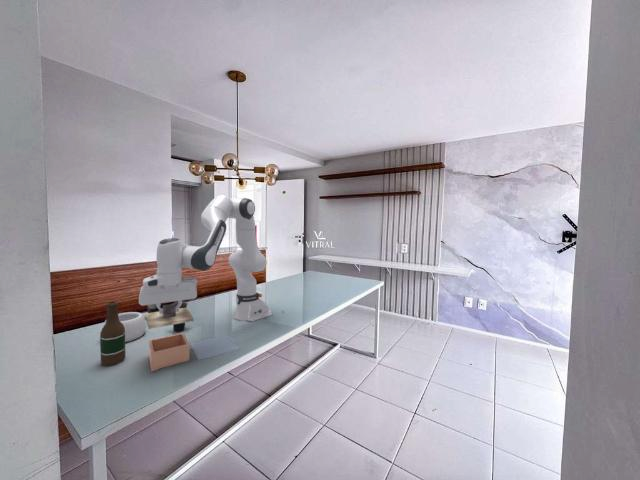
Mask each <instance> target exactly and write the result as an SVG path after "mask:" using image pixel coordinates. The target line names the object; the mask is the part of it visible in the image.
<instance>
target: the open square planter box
mask: <svg viewBox="0 0 640 480" xmlns="http://www.w3.org/2000/svg"><path fill="white" fill-rule="evenodd" d="M148 359H149V367H150V371H151V373H152V372H155V371H158V370H159V369H161V368H165V367H166V368H167V367H169V366H172V365H173V366H174V365H176V364H181V363H185V362H188V361H190V342H189V340H188V339H187V337H186V335H185V332H182V333H177V334H172V335H168V336H163V337H158V338H154V339H148Z"/></svg>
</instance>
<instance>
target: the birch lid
mask: <svg viewBox="0 0 640 480" xmlns="http://www.w3.org/2000/svg"><path fill="white" fill-rule="evenodd" d="M163 309H164V314H159V312H152V313H148V312H146V313H145V321H146V323H147V324H146V325H147V327H148V329H149V330H151V329H155V328H156V329H157V328H162V327H167V326H172V325H174V324H179V323H185V324H186V323H188V322H189V323H190V322H194V316H193V315H192V313H191V312H190V311H189V309H188V308H179V311H177V312H176V306H175V304H173V303H171V304H165V305H163Z"/></svg>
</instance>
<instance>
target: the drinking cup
mask: <svg viewBox="0 0 640 480" xmlns="http://www.w3.org/2000/svg"><path fill="white" fill-rule="evenodd" d="M172 304H175V306H177V305H178V301H174V302H173V303H172ZM187 307H188V302H186V301H182V304H181V306H180V307H179V308H187ZM187 309H188V308H187ZM185 326H186V322H185V323H179V324H174V325H173V328H172V329H173V331H175V333H180V331H181V332H183V331H185V328H186V327H185Z"/></svg>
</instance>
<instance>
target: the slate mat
mask: <svg viewBox="0 0 640 480" xmlns="http://www.w3.org/2000/svg"><path fill="white" fill-rule="evenodd" d="M189 345H190V346H191V348H192V350H193V352H194V354H195V356H196V359H197V360H198V361H200V360H204V359H208V358H211V357H212V358H213V357H214V356H218V355H221V354H225V353H229V352H233V351H236V350H240V347H239V346H238V345H237V344H236V343H235V341H233V339H232V338H231V337H230V336H229V335H228V334H224V335H223V334H222V335H220V336H216V337H211V338H208V339H203V340H200V341H199V340H198V341H194V342H189Z"/></svg>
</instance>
